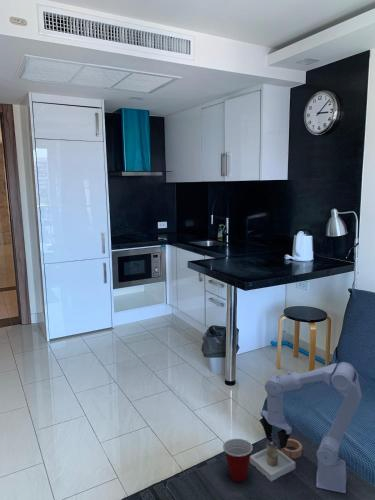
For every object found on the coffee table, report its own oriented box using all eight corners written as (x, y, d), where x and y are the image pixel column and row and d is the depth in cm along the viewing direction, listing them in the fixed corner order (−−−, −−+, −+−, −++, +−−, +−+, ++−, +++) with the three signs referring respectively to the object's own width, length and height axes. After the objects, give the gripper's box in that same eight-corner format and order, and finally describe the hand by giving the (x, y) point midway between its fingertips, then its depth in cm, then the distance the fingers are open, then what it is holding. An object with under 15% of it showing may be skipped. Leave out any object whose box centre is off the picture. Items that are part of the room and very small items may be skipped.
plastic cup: (250, 464, 144) (249, 435, 142) (256, 486, 133) (255, 454, 131) (222, 466, 144) (221, 437, 142) (225, 487, 133) (224, 456, 131)
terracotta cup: (302, 446, 153) (302, 440, 152) (301, 460, 145) (301, 453, 145) (282, 443, 155) (282, 437, 155) (279, 456, 148) (279, 449, 147)
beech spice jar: (278, 460, 144) (278, 438, 143) (277, 467, 140) (277, 445, 139) (267, 458, 145) (267, 436, 144) (266, 465, 142) (266, 443, 140)
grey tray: (273, 450, 151) (272, 445, 151) (295, 468, 141) (295, 462, 140) (249, 462, 145) (249, 456, 145) (271, 481, 135) (271, 475, 134)
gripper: (297, 413, 136) (298, 448, 138) (269, 396, 148) (270, 428, 150) (283, 420, 132) (284, 455, 134) (256, 402, 145) (256, 435, 147)
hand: (275, 442), depth 142 cm, fingers open, 7 cm apart
